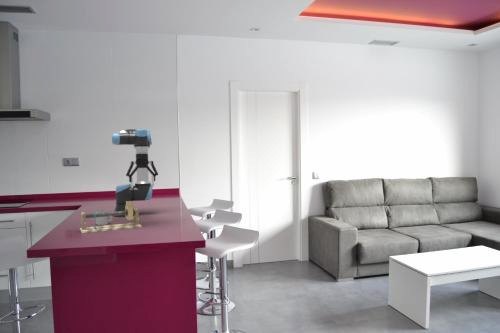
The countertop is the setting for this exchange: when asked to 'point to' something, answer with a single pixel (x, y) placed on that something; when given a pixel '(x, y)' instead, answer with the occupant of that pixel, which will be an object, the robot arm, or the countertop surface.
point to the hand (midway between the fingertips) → (142, 186)
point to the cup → (103, 218)
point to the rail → (109, 227)
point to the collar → (129, 210)
